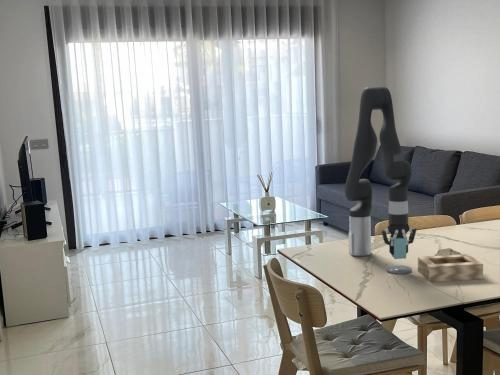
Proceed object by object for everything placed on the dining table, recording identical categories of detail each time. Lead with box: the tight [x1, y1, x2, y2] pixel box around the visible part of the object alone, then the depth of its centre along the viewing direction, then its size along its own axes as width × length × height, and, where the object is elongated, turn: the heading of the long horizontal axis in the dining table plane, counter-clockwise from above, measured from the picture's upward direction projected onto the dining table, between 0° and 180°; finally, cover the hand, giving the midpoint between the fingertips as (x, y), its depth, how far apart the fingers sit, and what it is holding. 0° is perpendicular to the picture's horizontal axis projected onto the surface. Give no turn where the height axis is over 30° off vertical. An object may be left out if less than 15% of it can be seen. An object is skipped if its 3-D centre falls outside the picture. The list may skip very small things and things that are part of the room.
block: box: [391, 237, 407, 260], centre depth 232 cm, size 4×4×8 cm
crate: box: [417, 253, 484, 283], centre depth 225 cm, size 20×14×6 cm
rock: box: [434, 247, 462, 256], centre depth 245 cm, size 11×11×4 cm
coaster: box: [385, 264, 413, 275], centre depth 233 cm, size 10×10×1 cm
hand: (398, 254), depth 232 cm, fingers closed on block, 4 cm apart
